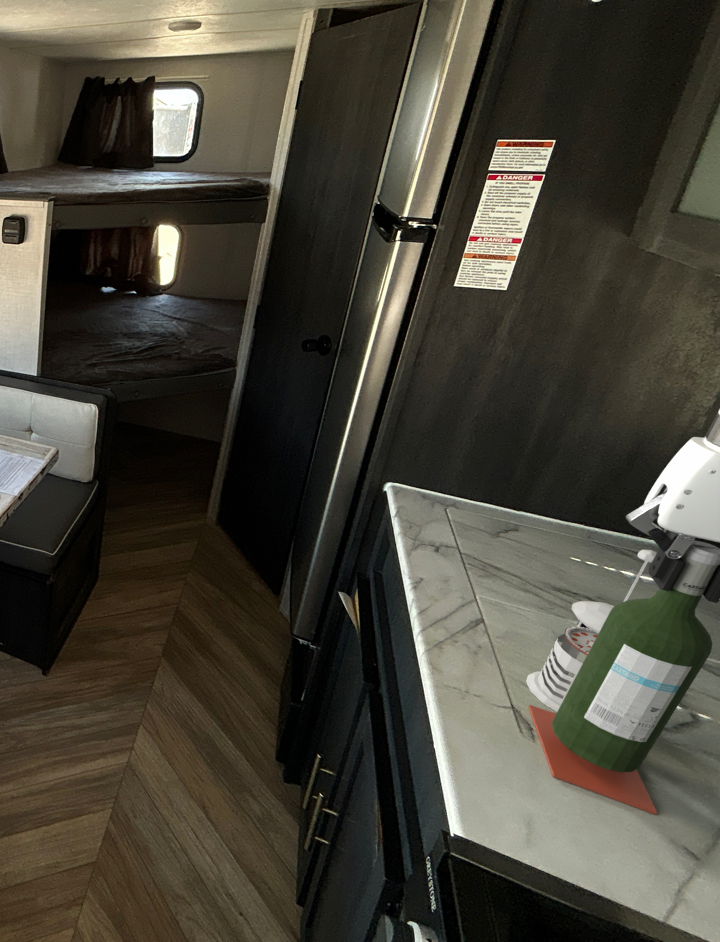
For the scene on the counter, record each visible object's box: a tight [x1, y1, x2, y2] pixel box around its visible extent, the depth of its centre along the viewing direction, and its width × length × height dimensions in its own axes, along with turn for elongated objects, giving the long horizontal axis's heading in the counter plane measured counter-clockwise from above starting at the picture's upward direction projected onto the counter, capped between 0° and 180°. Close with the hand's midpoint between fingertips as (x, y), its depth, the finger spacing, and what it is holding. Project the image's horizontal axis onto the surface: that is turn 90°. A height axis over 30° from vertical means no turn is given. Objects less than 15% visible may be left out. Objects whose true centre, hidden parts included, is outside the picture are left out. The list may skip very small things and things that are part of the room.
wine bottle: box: [552, 540, 720, 772], centre depth 73 cm, size 8×8×30 cm
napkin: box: [528, 704, 658, 815], centre depth 80 cm, size 9×12×1 cm
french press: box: [525, 549, 658, 713], centre depth 84 cm, size 10×12×25 cm
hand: (682, 587), depth 70 cm, fingers closed on wine bottle, 2 cm apart
